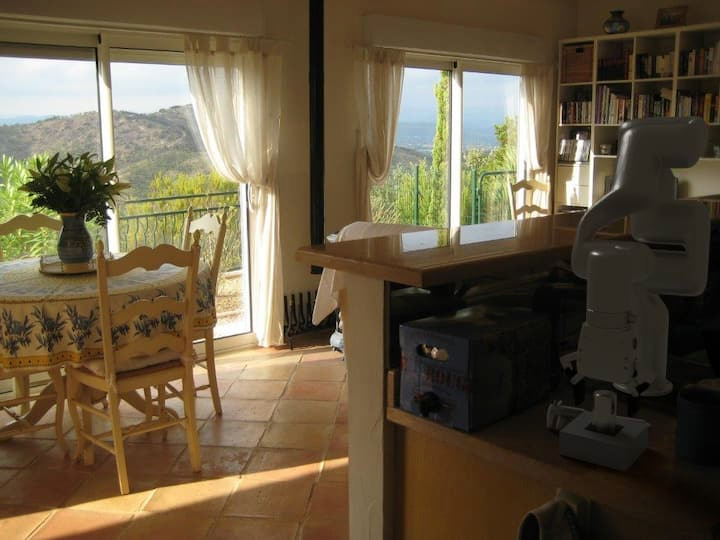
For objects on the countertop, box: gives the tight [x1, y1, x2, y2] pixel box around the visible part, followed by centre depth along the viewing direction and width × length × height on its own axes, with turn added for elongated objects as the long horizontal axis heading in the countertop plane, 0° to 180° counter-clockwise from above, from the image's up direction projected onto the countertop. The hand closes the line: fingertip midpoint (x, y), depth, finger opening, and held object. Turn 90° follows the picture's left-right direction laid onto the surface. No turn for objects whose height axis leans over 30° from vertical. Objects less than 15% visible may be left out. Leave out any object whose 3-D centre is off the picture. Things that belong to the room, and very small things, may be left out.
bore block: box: [558, 409, 650, 473], centre depth 132 cm, size 12×12×4 cm
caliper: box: [546, 399, 653, 431], centre depth 142 cm, size 20×1×6 cm, turn 90°
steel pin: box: [592, 389, 618, 436], centre depth 131 cm, size 4×4×10 cm
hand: (605, 408), depth 131 cm, fingers open, 9 cm apart
